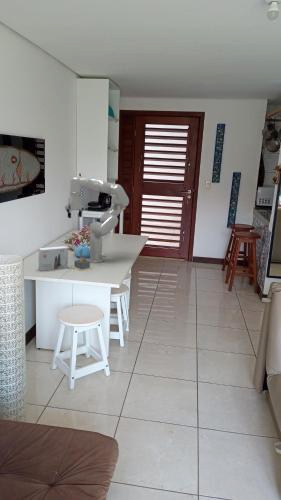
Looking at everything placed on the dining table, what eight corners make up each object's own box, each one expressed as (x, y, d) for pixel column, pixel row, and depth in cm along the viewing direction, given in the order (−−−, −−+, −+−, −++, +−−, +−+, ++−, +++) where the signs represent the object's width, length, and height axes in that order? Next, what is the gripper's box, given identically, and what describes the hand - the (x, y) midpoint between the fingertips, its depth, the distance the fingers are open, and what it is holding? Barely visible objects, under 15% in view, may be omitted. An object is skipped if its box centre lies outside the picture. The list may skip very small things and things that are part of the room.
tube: (83, 264, 291) (83, 258, 290) (92, 268, 284) (92, 261, 282) (71, 267, 283) (71, 260, 282) (80, 270, 276) (80, 263, 275)
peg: (83, 266, 287) (83, 257, 285) (86, 267, 284) (86, 258, 282) (78, 267, 284) (78, 258, 282) (81, 268, 281) (82, 259, 279)
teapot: (77, 259, 305) (78, 247, 302) (70, 254, 317) (71, 242, 315) (94, 258, 313) (94, 245, 310) (86, 253, 325) (87, 241, 322)
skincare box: (41, 271, 269) (41, 249, 265) (38, 269, 273) (38, 248, 269) (68, 268, 281) (68, 247, 277) (65, 266, 285) (65, 245, 282)
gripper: (81, 193, 288) (81, 215, 292) (62, 194, 276) (62, 217, 280) (87, 194, 283) (87, 217, 287) (68, 195, 271) (68, 219, 275)
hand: (74, 217), depth 283 cm, fingers open, 9 cm apart
